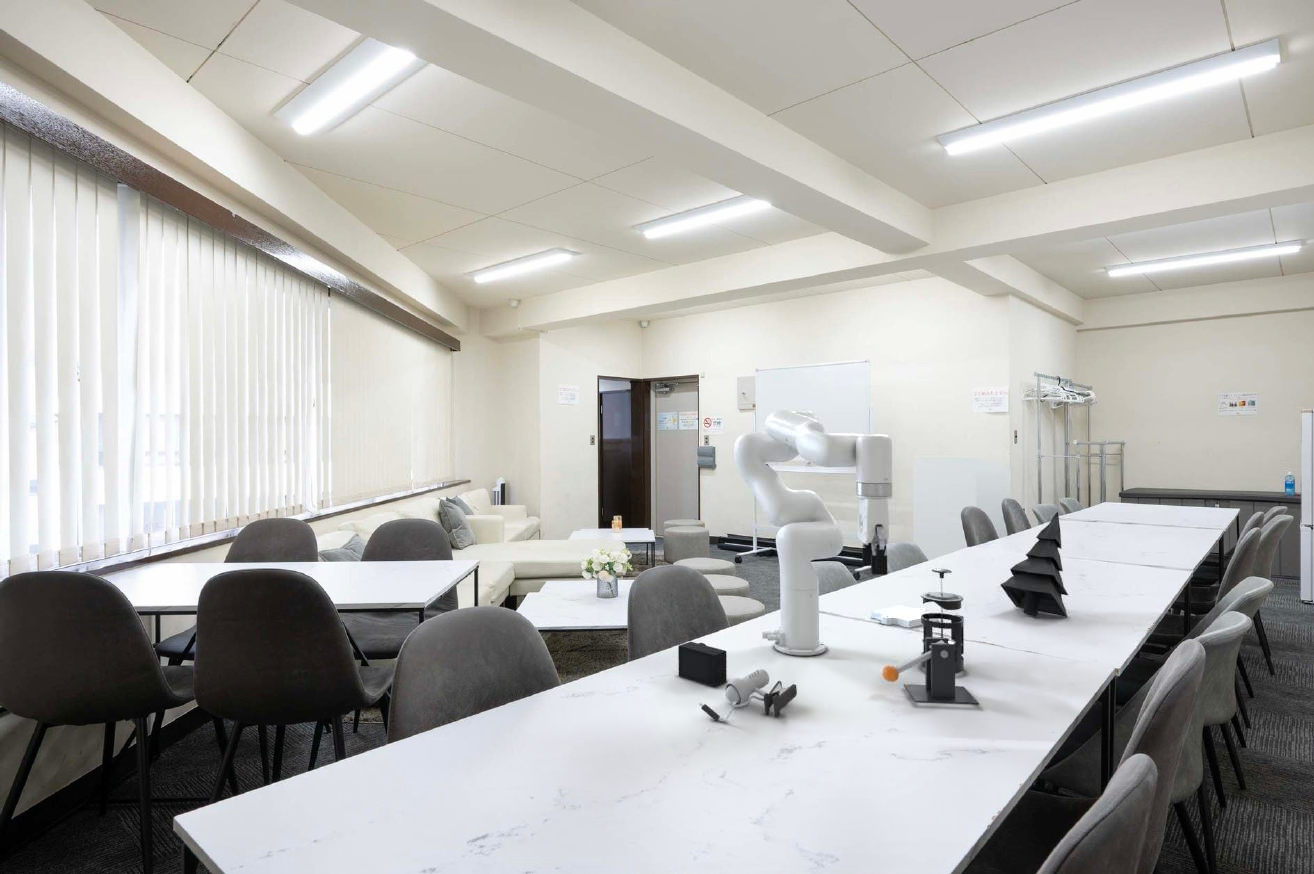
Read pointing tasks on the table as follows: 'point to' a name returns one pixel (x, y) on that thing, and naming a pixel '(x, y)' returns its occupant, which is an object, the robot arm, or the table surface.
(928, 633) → the french press
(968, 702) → the switch bracket
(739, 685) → the clip-on lamp
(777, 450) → the robot arm
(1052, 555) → the decorative tree
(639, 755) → the table surface
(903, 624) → the mounting plate
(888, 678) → the switch lever
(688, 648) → the digital camera
